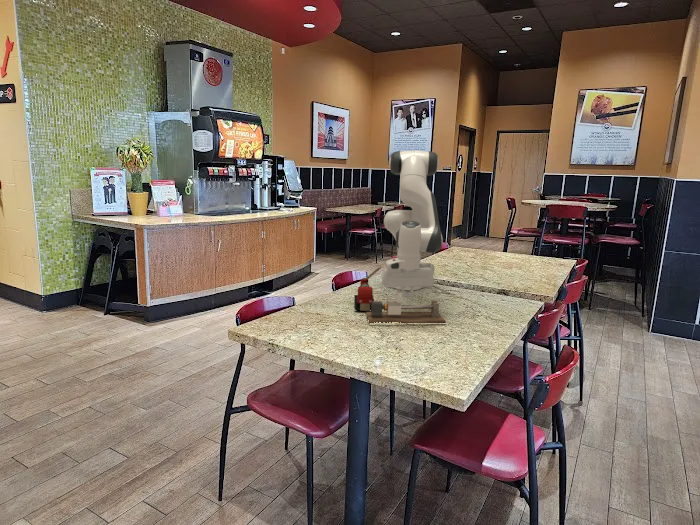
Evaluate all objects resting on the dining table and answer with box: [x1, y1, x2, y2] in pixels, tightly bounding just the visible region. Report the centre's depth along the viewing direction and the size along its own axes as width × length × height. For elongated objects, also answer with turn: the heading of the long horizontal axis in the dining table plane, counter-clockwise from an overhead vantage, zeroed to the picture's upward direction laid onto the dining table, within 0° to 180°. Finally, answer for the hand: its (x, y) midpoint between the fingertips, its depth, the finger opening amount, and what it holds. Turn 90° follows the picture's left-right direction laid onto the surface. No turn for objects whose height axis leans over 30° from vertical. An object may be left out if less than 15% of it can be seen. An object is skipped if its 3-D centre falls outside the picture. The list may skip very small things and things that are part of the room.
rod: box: [370, 300, 433, 318], centre depth 184 cm, size 4×26×6 cm, turn 95°
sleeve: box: [386, 289, 403, 315], centre depth 183 cm, size 4×5×9 cm
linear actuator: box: [365, 300, 447, 324], centre depth 184 cm, size 12×30×8 cm, turn 95°
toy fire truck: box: [353, 266, 382, 312], centre depth 198 cm, size 11×16×18 cm
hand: (407, 297), depth 183 cm, fingers closed
